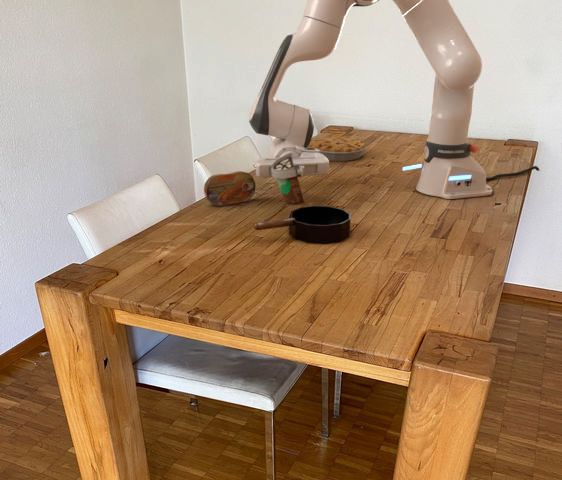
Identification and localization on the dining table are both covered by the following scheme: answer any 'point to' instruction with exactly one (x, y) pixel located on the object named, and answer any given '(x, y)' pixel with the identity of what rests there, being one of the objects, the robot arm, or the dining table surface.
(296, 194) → the food container
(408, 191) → the dining table surface
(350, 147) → the pie
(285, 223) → the pan
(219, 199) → the tin
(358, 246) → the dining table surface
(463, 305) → the dining table surface
